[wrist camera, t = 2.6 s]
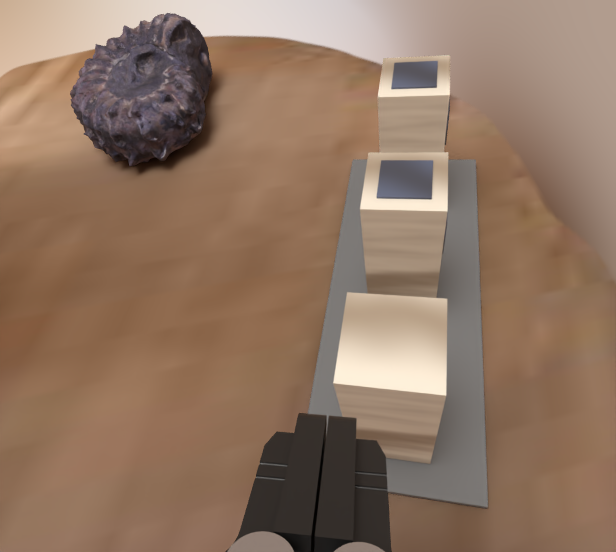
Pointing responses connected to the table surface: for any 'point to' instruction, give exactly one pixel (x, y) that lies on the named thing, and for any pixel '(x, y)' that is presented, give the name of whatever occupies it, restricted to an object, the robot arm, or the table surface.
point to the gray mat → (460, 346)
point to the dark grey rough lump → (145, 90)
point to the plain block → (394, 371)
